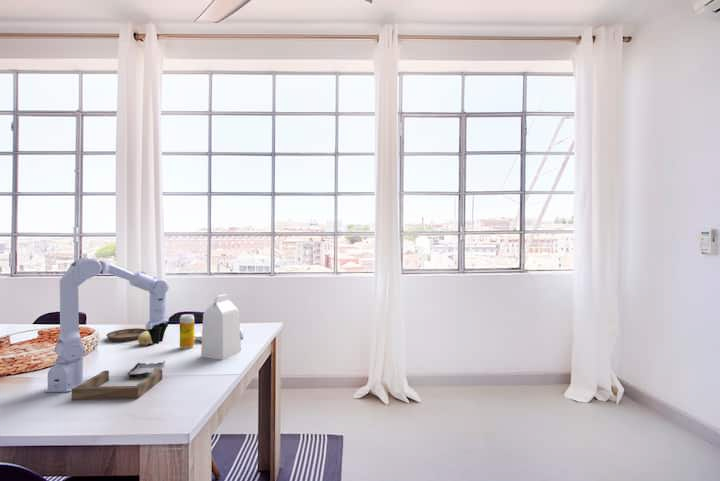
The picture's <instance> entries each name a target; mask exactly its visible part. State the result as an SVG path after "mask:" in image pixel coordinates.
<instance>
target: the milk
mask: <svg viewBox="0 0 720 481" xmlns="http://www.w3.org/2000/svg"><path fill="white" fill-rule="evenodd" d="M228 294H229V293H228ZM228 294H227V293H223V294H220V295H216V296H215V298H214V300H213V303H212V304H210V306H209V307H208V308H207V309H206V310H205V311H204V312H203V314H202V328H201V329H202V341H201V350H200V351H201V352H200V357H202V358H210V359H216V360H217V359H218V360H222V361H223V360H225V359H227V358H229V357H231V356H235V355H236V354H239V353H240V352H242V342H241V340H242V339H241V337H240V328H241V325H240V311H239V309H238V308H237V306H235V304H234V303H233V302H232V301H231V300H230V298H229V295H228Z"/></svg>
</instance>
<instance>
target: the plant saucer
mask: <svg viewBox="0 0 720 481" xmlns="http://www.w3.org/2000/svg"><path fill="white" fill-rule="evenodd" d="M145 331H147V329H146V328H140V327H139V328H124V329H118V330H114V331H111V332H110V331H109V332H108V333H106V337H107V339H108V340H110V341H111V342H114V343H115V342H117V343H119V342H120V343H121V342H123V343H124V342H131V341H136V340H137V341H138V336H139V335H140V334H141V333H142V332H145Z"/></svg>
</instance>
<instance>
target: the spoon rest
mask: <svg viewBox="0 0 720 481" xmlns="http://www.w3.org/2000/svg"><path fill="white" fill-rule="evenodd" d="M244 335H245V333H244V331H243V329H242V327H240V339H241V340H243V339H244V337H245V336H244ZM194 339H195V340H197V341H199V342H202V331H198V332H194Z"/></svg>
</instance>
